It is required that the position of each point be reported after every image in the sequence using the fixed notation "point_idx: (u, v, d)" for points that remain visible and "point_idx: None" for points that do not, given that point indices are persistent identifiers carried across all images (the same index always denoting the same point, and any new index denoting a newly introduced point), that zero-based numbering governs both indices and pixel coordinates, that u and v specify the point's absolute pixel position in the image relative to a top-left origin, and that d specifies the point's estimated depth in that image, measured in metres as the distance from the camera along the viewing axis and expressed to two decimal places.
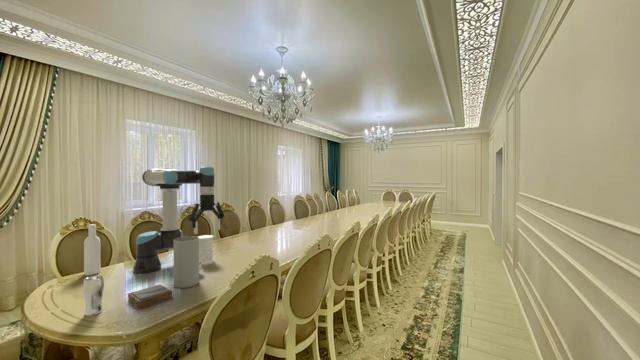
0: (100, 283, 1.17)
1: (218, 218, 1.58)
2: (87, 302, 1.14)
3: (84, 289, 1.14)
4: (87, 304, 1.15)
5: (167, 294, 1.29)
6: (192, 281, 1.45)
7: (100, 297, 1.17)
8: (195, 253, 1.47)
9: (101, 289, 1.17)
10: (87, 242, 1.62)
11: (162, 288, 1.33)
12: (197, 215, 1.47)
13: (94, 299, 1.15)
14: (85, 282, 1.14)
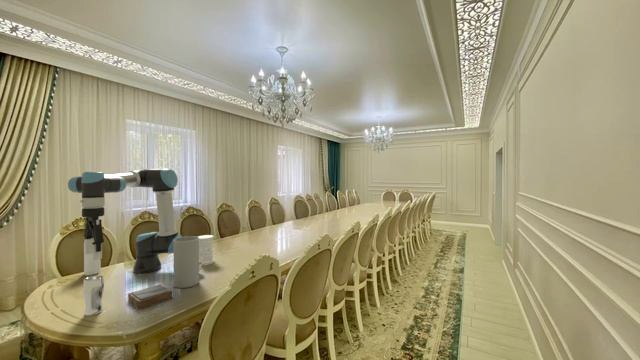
0: (100, 283, 1.17)
1: None
2: (87, 302, 1.14)
3: (84, 289, 1.14)
4: (87, 304, 1.15)
5: (167, 294, 1.29)
6: (192, 281, 1.45)
7: (100, 297, 1.17)
8: (195, 253, 1.47)
9: (101, 289, 1.17)
10: None
11: (162, 288, 1.33)
12: None
13: (94, 299, 1.15)
14: (85, 282, 1.14)
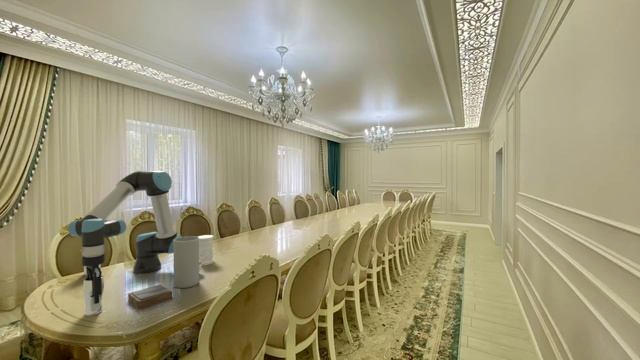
0: None
1: None
2: (87, 302, 1.14)
3: (84, 289, 1.14)
4: (87, 304, 1.15)
5: (167, 294, 1.29)
6: (192, 281, 1.45)
7: (100, 297, 1.17)
8: (195, 253, 1.47)
9: None
10: None
11: (162, 288, 1.33)
12: None
13: None
14: (85, 282, 1.14)
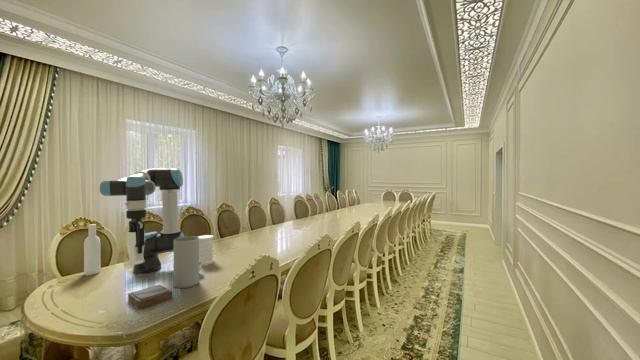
0: None
1: None
2: (131, 252, 1.23)
3: (128, 240, 1.23)
4: (131, 254, 1.23)
5: (167, 294, 1.29)
6: (192, 281, 1.45)
7: None
8: (195, 253, 1.47)
9: None
10: (87, 242, 1.62)
11: (162, 288, 1.33)
12: None
13: None
14: (129, 233, 1.23)
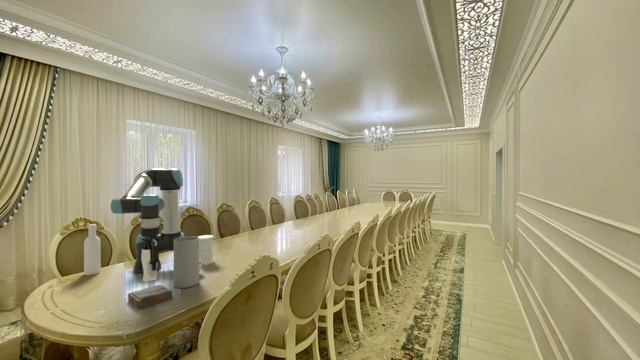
0: None
1: None
2: (145, 269, 1.26)
3: (143, 257, 1.26)
4: (145, 271, 1.26)
5: (167, 294, 1.29)
6: (192, 281, 1.45)
7: None
8: (195, 253, 1.47)
9: None
10: (87, 242, 1.62)
11: (162, 288, 1.33)
12: None
13: None
14: (144, 251, 1.26)
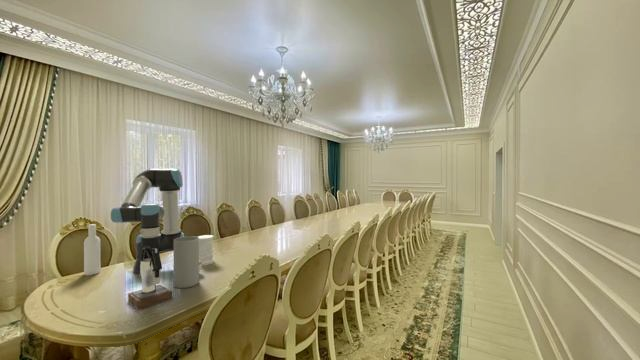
0: None
1: None
2: (144, 281, 1.27)
3: (142, 269, 1.27)
4: (144, 282, 1.28)
5: (167, 294, 1.29)
6: (192, 281, 1.45)
7: None
8: (195, 253, 1.47)
9: None
10: (87, 242, 1.62)
11: (162, 288, 1.33)
12: (143, 258, 1.32)
13: (150, 278, 1.28)
14: (142, 263, 1.27)
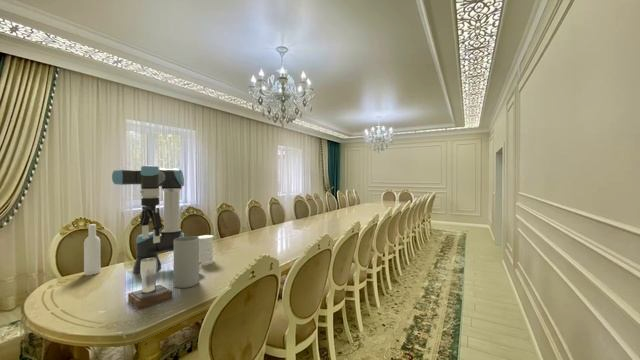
0: (155, 264, 1.30)
1: None
2: (144, 281, 1.27)
3: (142, 269, 1.27)
4: (144, 282, 1.28)
5: (167, 294, 1.29)
6: (192, 281, 1.45)
7: (155, 277, 1.30)
8: (195, 253, 1.47)
9: (155, 269, 1.30)
10: (87, 242, 1.62)
11: (162, 288, 1.33)
12: None
13: (150, 278, 1.28)
14: (142, 263, 1.27)
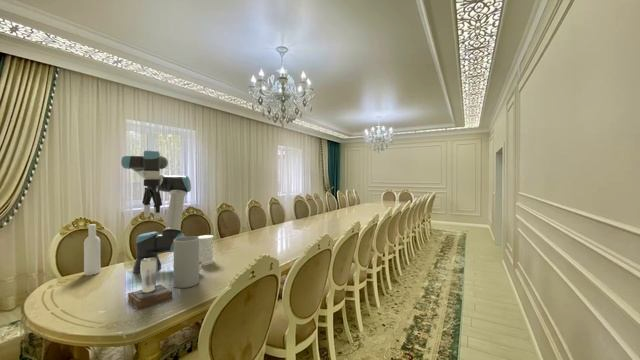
0: (155, 264, 1.30)
1: None
2: (144, 281, 1.27)
3: (142, 269, 1.27)
4: (144, 282, 1.28)
5: (167, 294, 1.29)
6: (192, 281, 1.45)
7: (155, 277, 1.30)
8: (195, 253, 1.47)
9: (155, 269, 1.30)
10: (87, 242, 1.62)
11: (162, 288, 1.33)
12: None
13: (150, 278, 1.28)
14: (142, 263, 1.27)
